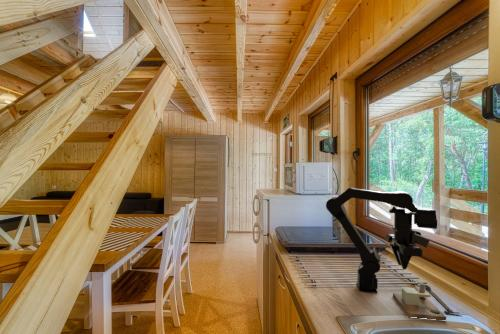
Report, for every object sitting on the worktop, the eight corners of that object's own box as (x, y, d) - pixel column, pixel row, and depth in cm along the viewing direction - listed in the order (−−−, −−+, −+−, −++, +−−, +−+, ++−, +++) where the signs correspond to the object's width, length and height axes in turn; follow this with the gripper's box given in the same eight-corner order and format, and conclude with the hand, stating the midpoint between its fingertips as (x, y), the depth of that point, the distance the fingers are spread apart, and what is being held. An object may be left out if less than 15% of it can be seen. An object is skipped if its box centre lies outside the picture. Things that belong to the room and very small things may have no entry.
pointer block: (406, 304, 89) (406, 292, 89) (401, 298, 93) (401, 287, 93) (432, 306, 88) (432, 295, 88) (426, 300, 92) (427, 289, 92)
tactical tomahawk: (469, 321, 85) (470, 317, 85) (446, 316, 86) (446, 312, 86) (439, 289, 105) (440, 287, 105) (421, 286, 107) (421, 283, 107)
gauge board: (408, 317, 84) (408, 297, 84) (392, 296, 98) (393, 279, 98) (446, 321, 82) (446, 301, 82) (425, 299, 96) (425, 282, 96)
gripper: (440, 233, 87) (439, 279, 88) (415, 221, 106) (414, 259, 106) (404, 231, 89) (403, 276, 89) (385, 220, 108) (385, 257, 108)
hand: (402, 267), depth 98 cm, fingers open, 4 cm apart
